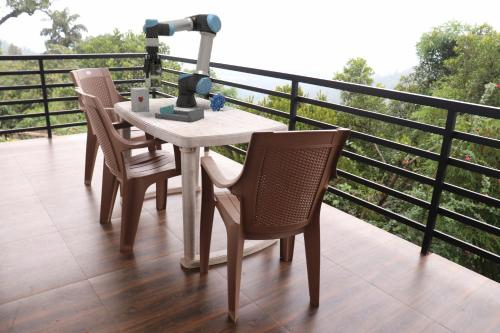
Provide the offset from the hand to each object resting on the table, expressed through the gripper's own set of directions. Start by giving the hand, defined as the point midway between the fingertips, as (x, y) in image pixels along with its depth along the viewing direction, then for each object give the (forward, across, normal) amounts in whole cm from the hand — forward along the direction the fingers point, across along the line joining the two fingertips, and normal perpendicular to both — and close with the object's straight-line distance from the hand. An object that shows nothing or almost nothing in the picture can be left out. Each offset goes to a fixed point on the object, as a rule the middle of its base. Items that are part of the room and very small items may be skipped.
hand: (153, 83), depth 256 cm
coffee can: (+3, 0, 0) cm, 3 cm away
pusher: (+19, 0, +9) cm, 22 cm away
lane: (+20, 0, +19) cm, 27 cm away
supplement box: (+21, -9, -17) cm, 28 cm away
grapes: (+20, -38, +26) cm, 50 cm away
